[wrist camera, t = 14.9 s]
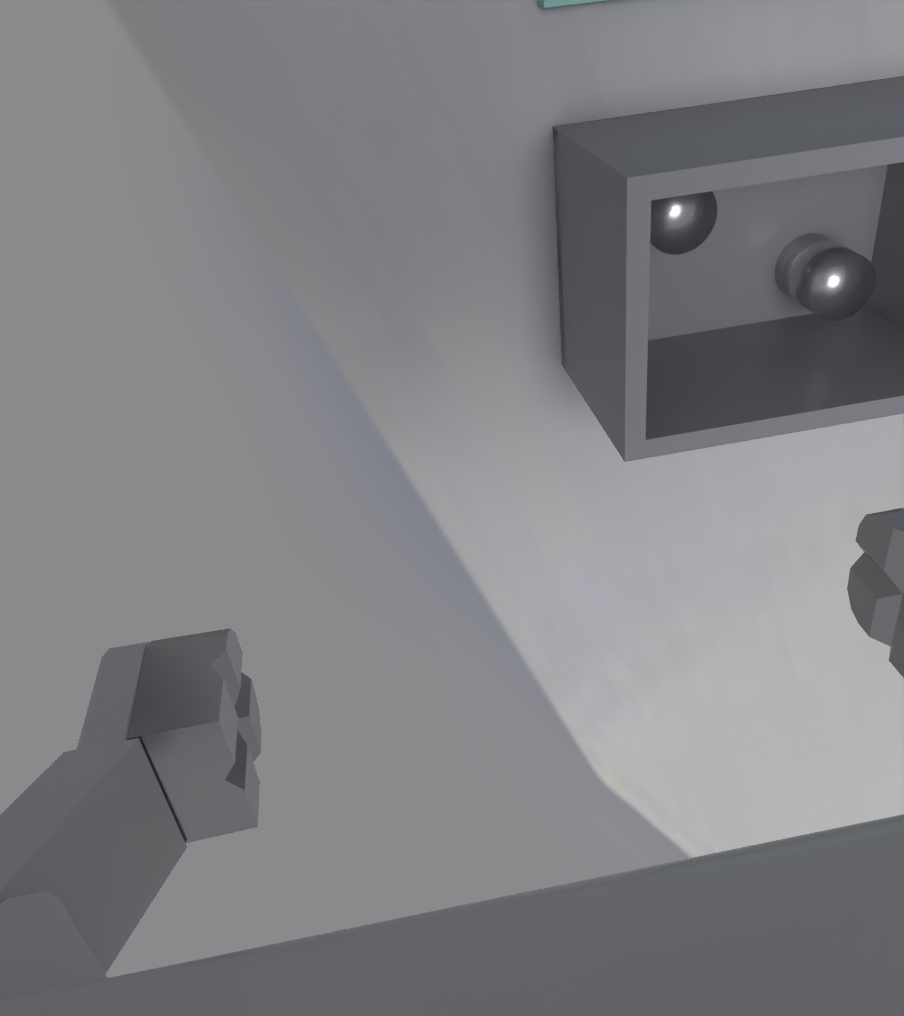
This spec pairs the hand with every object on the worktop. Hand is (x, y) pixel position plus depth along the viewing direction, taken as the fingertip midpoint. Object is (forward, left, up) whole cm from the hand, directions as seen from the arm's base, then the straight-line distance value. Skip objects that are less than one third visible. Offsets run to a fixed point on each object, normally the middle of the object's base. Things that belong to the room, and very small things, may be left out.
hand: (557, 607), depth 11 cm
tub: (+8, +19, -37) cm, 42 cm away
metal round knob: (+10, +23, -36) cm, 45 cm away
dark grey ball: (+5, +14, -36) cm, 39 cm away
